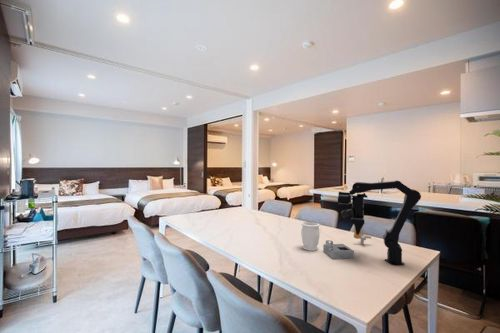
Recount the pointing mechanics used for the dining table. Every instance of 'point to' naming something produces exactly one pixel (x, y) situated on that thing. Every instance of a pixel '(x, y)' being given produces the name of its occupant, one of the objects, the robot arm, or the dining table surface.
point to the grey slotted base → (338, 250)
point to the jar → (310, 235)
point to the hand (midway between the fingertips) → (357, 233)
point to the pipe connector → (363, 236)
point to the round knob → (356, 234)
